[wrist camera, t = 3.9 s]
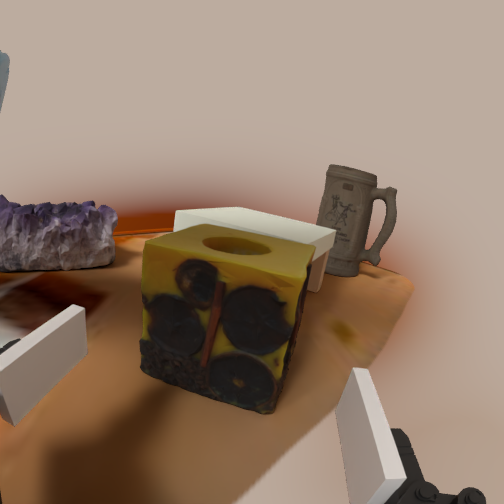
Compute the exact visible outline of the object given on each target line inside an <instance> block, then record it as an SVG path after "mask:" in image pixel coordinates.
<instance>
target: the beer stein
mask: <svg viewBox="0 0 504 504" xmlns="http://www.w3.org/2000/svg"><path fill="white" fill-rule="evenodd" d="M396 193H397V190H396V189H394V188H392V187H388V188H386V189H378V188H377V176H376V175H374V174H371V173H367V172H364V171H361V170H357V169H354V168H349V167H345V166H339V165H329V169H328V170H327V172H326V183H325V190H324V195H323V197H322V201H321V205H320V209H319V214H318V219H317V223H316V225H318V226H322V227H326V228H330V229H334V230H336V234H335V239H334V243H333V247H332V248H331V249H330V250H329V255H328V259H327V263H326V267H325V272H324V273H327V274H331V275H335V276H342V277H354V276H356V275H357V274H358V272H359V263H360V262H362V261H369V262H370V263H371V264H373V265H374V266H377V265H378V264H379V262H380V260H381V259H380V256H379V253H380V250H381V248H382V247H383V245H384V244H385V242H386V241H387V240H388V238H389V237H390V235H391V233H392V232H393V229H394V226H395V223H396V217H397V210H396ZM376 199H382V200H383V201H384V202H385V204H386V216H385V221H384V224H383V226H382V229H381V231H380V233H379V235H378V237H377V239H376V240H375V242H374V243H373V245H372V247H371V248H370V249H369V250H365V244H366V239H367V234H368V229H369V225H370V219H371V214H372V207H373V202H374V200H376Z"/></svg>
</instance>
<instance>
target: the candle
mask: <svg viewBox="0 0 504 504" xmlns="http://www.w3.org/2000/svg"><path fill="white" fill-rule="evenodd" d="M315 250H316V247H315V246H314V245H309V244H303V243H299V242H294V241H290V240H285V239H280V238H276V237H271V236H266V235H262V234H257V233H252V232H247V231H242V230H237V229H232V228H227V227H222V226H217V225H212V224H207V223H205V224H199V225H195V226H191V227H188V228H186V229H183V230H179V231H177V232H174V233H170V234H166V235H163V236H161V237H157V238H154V239H151V240H147V241H145V246H144V250H143V261H142V279H141V291H142V302H143V304H144V306H143V312H142V318H143V333H142V338H141V340H140V352H141V366H140V368H141V370H142V371H143V372H145V373H147V374H148V375H150V376H152V377H154V378H158V379H161V380H163V381H164V382H166V383H169V384H172V385H176V386H179V387H181V388H183V389H185V390H188V391H190V392H194V393H197V394H200V395H202V396H207V397H209V398H212V399H214V400H218V401H222V402H226V403H230V404H233V405H235V406H238V407H241V408H243V409H248V410H254V411H256V412H258V413H261V414H267V413H273V411H274V409H275V406H276V402H277V400H278V398H279V394H280V393H281V392H282V391H281V389H282V388H283V384H284V381H285V378H286V375H287V370H289V369H288V365H289V362H290V357H291V355H292V354H293V351H294V347H295V344H296V338H297V333H298V330H299V327H300V323H301V317H302V313H303V309H304V307H303V306H304V301H305V297H306V292H307V287H308V282H309V277H310V273H311V268H312V264H311V262H312V259H313V256H314V253H315Z"/></svg>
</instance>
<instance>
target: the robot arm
mask: <svg viewBox="0 0 504 504" xmlns="http://www.w3.org/2000/svg"><path fill="white" fill-rule="evenodd" d="M9 63H10V60H9V57H8V55H7V54H6V53H2V52H1V50H0V111H1V107H2V103H3V98H4V94H5V90H6V85H7V81H8V75H9ZM87 354H88V349H87V337H86V321H85V308H83V307H80V306H77V305H74V304H73V305H71V306H70V307H68V308H67V309H65V310H64V311H62V312H61V313H59V314H58V315H56V316H55V317H53V318H52V319H50V320H49V321H47V322H46V323H45V324H43V325H42V326H40V327H39V328H37V329H36V330H34V331H33V332H32V333H30V334H29V335H27V336H26V337H24V338H23V339H17V340H14V341H11V342H9V343H7V344H6V345H5V346H3V348H0V414H1V416H2V419H4V420H5V421H7V422H8V423H10V424H11V425H13V426H14V427H15V426H16V425H17V424H18V423H19V422H20V421H21V420H22V419H23V418H24V417H25V416H26V415H27V414H28V413H29V412H30V411H31V410H32V408H33V407H34V406H35V405H36V404H37V403H38V402H39V401H40V400H41V399H42V398H43V397H44V396H45V395H46V394H47V393H48V392H49V391H50V390H51V389H52V388H53V387H54V386H55V385H56V384H57V383H58V382H59V381H60V380H61V379H62V378H63V377H64V376H65V375H66V374H67V373H68V372H70V371H71V370H72V369H73V368H74V367H75V366H76V365H77V364H78V363H79V362H80V361H81V360H82V359H83V358H84V357H85V356H86V355H87ZM335 414H336V419H337V425H338V431H339V436H340V443H341V449H342V454H343V461H344V468H345V474H346V481H347V488H348V495H349V502H350V504H486V499H485V496H484V495H483V493H482V492H481V491H479V490H478V489H476V488H470V487H468V488H465V489H463V490H462V491H461V492H460V493H459V494H458V495H450V494H442V493H439V490H438V489H437V488H436V486H434V485H433V484H431V483H429V482H426V481H425V480H424V478H423V475H422V472H421V469H420V467H419V464H418V462H417V459H416V456H415V455H414V451H413V448H411V443H410V441H409V438H408V437H407V435H406V434H405V433H404V432H403V431H402V430H401V429H390V427H389V424H388V421H387V419H386V416H385V413H384V410H383V408H382V405H381V402H380V400H379V397H378V394H377V392H376V389H375V386H374V384H373V381H372V379H371V376H370V374H369V371H368V369H363V368H354V367H353V368H352V371H351V373H350V376H349V378H348V381H347V383H346V386H345V388H344V391H343V393H342V396H341V398H340V400H339V403H338V405H337V407H336V410H335ZM0 504H2V500H1V492H0Z"/></svg>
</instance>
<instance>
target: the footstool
mask: <svg viewBox="0 0 504 504" xmlns="http://www.w3.org/2000/svg"><path fill="white" fill-rule="evenodd" d="M205 223H207V224H212V225H217V226H222V227H227V228H232V229H237V230H242V231H247V232H252V233H257V234H262V235H266V236H271V237H276V238H280V239H285V240H290V241H294V242H299V243H303V244H309V245H314V246H315V247H316V250H315V253H314V256H313V259H312V262H311V264H312V268H311V273H310V277H309V282H308V287H307V290H309V291H312V292H315V293H317V292H318V291H319V289H320V288H321V284H322V280H323V276H324V272H325V267H326V263H327V259H328V255H329V250H330V249H331V248H332V247H333V243H334V239H335V234H336V230H334V229H330V228H326V227H322V226H318V225H313V224H309V223H305V222H301V221H297V220H293V219H289V218H285V217H280V216H276V215H272V214H268V213H263V212H259V211H254V210H250V209H246V208H241V207H228V208H209V209H193V210H179V211H176V215H175V223H174V232H177V231H179V230H183V229H186V228H188V227H191V226H195V225H199V224H205Z"/></svg>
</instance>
